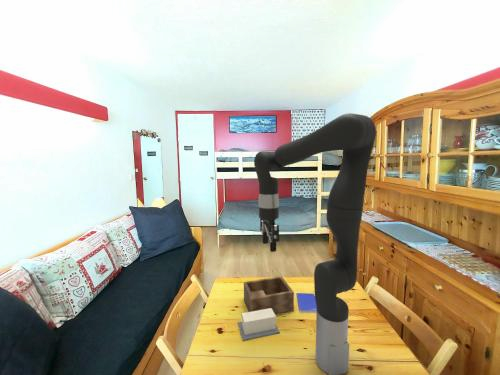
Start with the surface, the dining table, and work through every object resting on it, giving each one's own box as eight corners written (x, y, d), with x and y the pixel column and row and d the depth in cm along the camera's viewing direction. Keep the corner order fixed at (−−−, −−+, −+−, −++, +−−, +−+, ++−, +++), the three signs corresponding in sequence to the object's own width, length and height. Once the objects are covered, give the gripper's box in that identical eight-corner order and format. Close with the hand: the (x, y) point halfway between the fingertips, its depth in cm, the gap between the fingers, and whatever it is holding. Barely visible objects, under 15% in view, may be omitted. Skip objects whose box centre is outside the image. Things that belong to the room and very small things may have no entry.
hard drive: (319, 310, 95) (314, 293, 107) (299, 309, 96) (296, 292, 108) (319, 314, 95) (314, 296, 107) (299, 313, 96) (296, 295, 108)
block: (244, 334, 83) (244, 322, 83) (242, 325, 88) (241, 313, 88) (275, 328, 86) (275, 316, 86) (271, 319, 91) (271, 308, 90)
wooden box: (251, 319, 92) (251, 299, 91) (244, 299, 105) (243, 282, 104) (293, 311, 97) (293, 292, 95) (281, 293, 109) (281, 276, 108)
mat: (279, 333, 85) (279, 331, 85) (242, 341, 81) (242, 339, 81) (271, 316, 93) (271, 315, 93) (237, 323, 90) (237, 322, 90)
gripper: (286, 208, 79) (285, 253, 81) (271, 201, 93) (271, 239, 95) (265, 210, 77) (266, 255, 79) (253, 202, 91) (254, 241, 93)
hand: (269, 247), depth 87 cm, fingers open, 8 cm apart
